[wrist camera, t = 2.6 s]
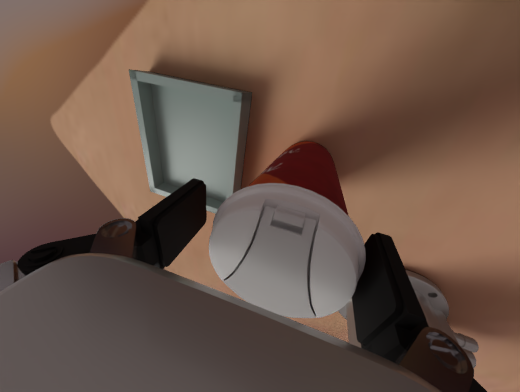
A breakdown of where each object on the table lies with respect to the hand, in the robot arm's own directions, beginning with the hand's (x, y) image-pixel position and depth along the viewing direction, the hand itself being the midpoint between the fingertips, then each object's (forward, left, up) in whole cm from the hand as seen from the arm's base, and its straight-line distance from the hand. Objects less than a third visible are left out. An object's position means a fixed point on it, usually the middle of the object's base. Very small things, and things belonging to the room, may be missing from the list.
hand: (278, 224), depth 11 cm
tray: (+12, +2, -11) cm, 17 cm away
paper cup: (-1, +1, -11) cm, 11 cm away
